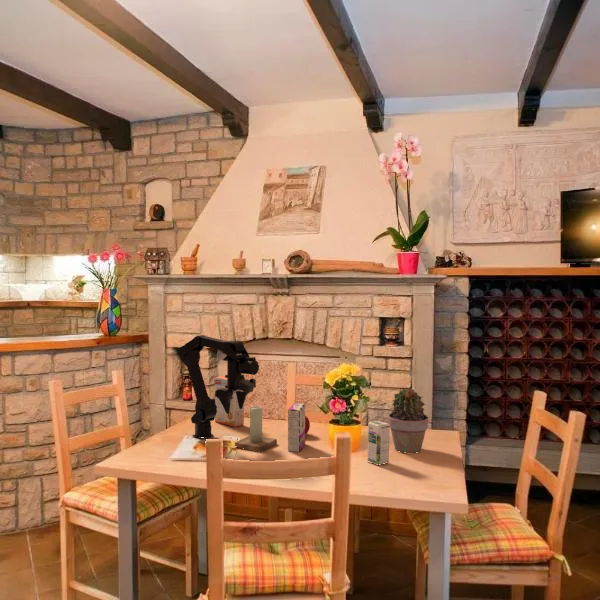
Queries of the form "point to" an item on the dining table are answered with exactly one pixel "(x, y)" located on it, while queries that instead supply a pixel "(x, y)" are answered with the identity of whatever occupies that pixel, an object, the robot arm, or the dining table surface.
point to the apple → (307, 425)
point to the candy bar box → (296, 427)
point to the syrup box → (378, 442)
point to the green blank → (255, 424)
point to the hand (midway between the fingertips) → (234, 411)
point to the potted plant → (408, 421)
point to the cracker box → (235, 412)
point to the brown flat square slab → (256, 444)
